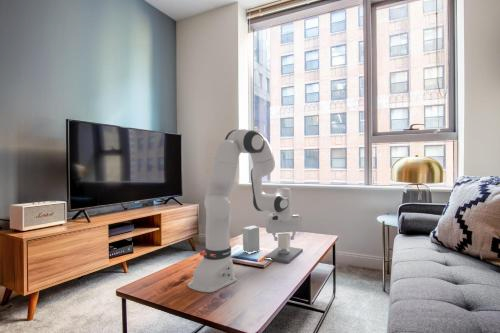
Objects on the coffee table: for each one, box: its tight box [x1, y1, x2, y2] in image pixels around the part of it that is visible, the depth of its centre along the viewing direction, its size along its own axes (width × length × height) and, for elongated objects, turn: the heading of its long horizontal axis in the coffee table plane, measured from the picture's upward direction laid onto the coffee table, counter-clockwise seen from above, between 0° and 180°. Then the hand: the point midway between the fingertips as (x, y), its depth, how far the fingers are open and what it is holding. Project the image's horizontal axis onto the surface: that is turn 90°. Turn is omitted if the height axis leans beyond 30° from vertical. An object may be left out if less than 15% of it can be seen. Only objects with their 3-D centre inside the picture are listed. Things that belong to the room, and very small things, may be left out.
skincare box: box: [242, 225, 260, 252], centre depth 168 cm, size 8×6×15 cm
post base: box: [263, 246, 304, 264], centre depth 163 cm, size 22×14×10 cm, turn 150°
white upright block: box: [277, 232, 291, 250], centre depth 163 cm, size 5×5×8 cm
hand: (284, 240), depth 163 cm, fingers open, 8 cm apart
